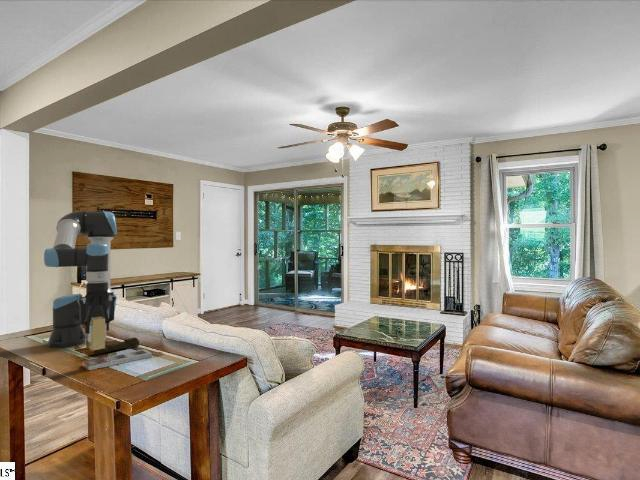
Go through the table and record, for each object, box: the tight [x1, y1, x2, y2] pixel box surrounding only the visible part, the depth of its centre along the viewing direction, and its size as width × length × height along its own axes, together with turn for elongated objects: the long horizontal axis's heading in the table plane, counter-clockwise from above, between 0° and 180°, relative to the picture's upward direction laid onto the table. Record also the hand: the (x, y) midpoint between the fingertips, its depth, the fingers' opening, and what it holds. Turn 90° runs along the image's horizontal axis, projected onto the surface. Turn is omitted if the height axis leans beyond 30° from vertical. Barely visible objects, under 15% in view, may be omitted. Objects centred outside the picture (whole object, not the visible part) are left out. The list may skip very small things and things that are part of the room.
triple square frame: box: [82, 349, 153, 371], centre depth 155 cm, size 8×24×2 cm, turn 137°
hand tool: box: [93, 337, 140, 356], centre depth 170 cm, size 19×4×5 cm, turn 136°
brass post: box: [88, 317, 106, 351], centre depth 149 cm, size 4×4×12 cm
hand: (97, 340), depth 149 cm, fingers closed on brass post, 4 cm apart
